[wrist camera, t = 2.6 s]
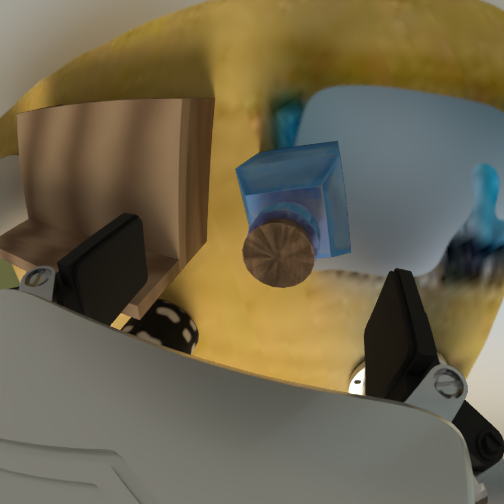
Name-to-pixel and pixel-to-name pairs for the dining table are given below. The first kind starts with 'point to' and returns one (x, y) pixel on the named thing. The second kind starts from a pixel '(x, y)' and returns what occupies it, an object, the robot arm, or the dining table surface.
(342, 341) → the dining table surface
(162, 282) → the brown wooden bench
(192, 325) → the spotted tube
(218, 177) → the dining table surface
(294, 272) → the perfume bottle
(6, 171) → the cylinder vase
